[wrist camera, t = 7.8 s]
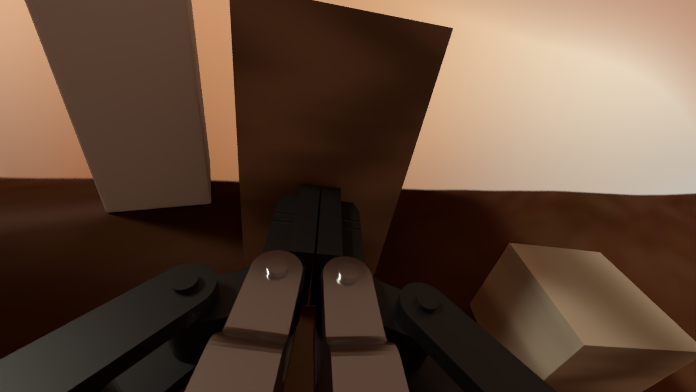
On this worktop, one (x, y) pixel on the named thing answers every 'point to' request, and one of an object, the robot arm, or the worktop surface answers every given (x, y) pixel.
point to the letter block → (579, 321)
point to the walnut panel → (328, 108)
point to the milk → (131, 96)
